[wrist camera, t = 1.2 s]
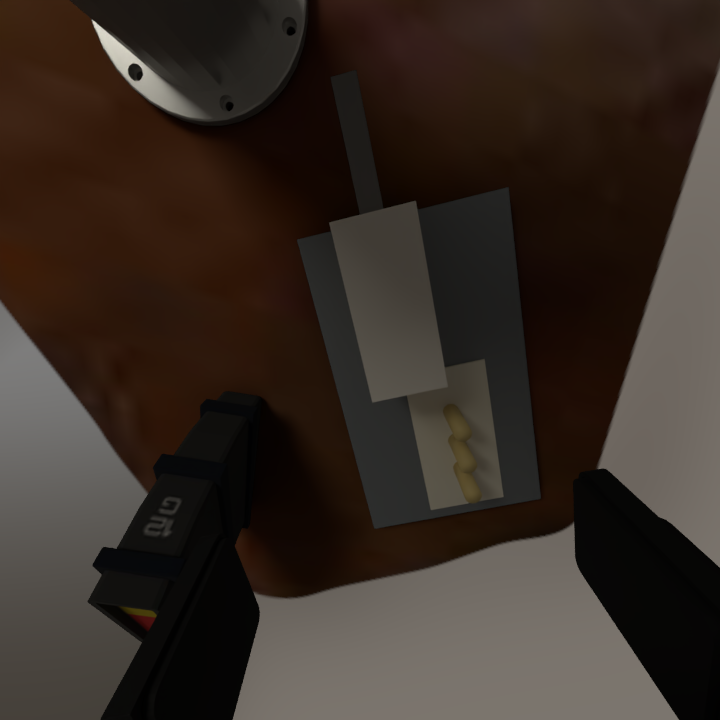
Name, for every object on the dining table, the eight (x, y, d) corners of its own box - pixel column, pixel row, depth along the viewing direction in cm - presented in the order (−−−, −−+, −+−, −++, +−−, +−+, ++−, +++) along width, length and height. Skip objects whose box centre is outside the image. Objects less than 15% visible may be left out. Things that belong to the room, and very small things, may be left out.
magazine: (265, 364, 26) (164, 609, 15) (269, 461, 35) (208, 660, 24) (213, 355, 26) (73, 596, 15) (231, 455, 35) (151, 652, 24)
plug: (313, 128, 22) (296, 84, 16) (384, 109, 22) (391, 57, 16) (370, 369, 26) (372, 402, 21) (429, 357, 26) (448, 386, 20)
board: (300, 240, 25) (285, 237, 20) (501, 190, 24) (535, 175, 19) (374, 518, 32) (375, 565, 27) (534, 489, 31) (564, 532, 26)
